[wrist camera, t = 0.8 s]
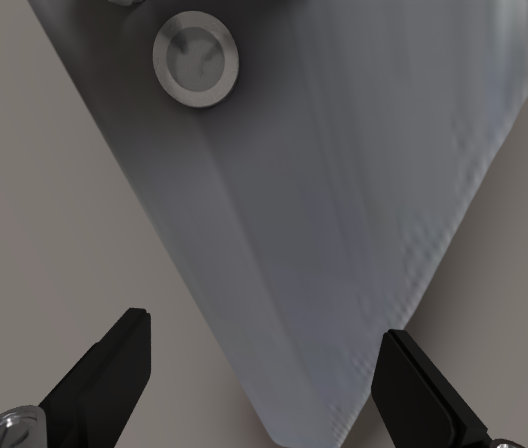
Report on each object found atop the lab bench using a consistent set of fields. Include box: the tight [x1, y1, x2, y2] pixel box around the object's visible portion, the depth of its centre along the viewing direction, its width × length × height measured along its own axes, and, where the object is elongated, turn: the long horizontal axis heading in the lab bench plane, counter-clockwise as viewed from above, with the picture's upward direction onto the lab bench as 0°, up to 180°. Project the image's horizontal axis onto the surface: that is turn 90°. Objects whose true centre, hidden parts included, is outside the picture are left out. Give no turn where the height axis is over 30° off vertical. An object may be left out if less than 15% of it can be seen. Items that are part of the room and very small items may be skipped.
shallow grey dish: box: [153, 11, 240, 109], centre depth 31 cm, size 10×10×2 cm
